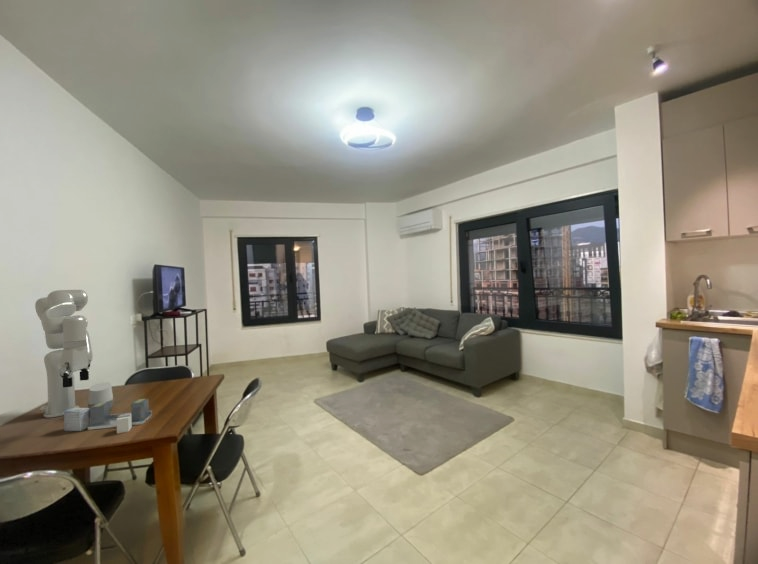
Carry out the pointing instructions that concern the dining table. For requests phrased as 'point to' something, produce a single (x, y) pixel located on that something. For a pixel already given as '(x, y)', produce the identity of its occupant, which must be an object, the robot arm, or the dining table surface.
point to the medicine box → (76, 419)
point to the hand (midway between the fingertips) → (76, 383)
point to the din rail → (105, 420)
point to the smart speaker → (100, 394)
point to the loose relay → (124, 423)
